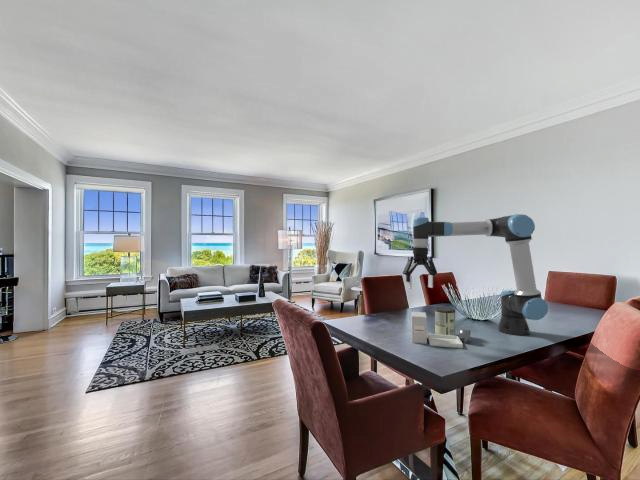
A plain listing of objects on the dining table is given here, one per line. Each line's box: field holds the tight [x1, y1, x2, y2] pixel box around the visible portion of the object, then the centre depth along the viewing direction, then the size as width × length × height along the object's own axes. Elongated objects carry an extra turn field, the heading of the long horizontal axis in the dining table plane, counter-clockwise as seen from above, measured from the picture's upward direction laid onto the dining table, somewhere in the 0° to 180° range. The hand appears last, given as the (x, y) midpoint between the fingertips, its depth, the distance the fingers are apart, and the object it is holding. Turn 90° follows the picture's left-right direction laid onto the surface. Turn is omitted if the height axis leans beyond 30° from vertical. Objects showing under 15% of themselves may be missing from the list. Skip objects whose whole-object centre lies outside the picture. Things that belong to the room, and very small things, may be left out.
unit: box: [410, 311, 428, 345], centre depth 160 cm, size 7×12×13 cm, turn 165°
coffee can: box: [434, 306, 456, 336], centre depth 169 cm, size 10×10×14 cm
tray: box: [427, 333, 464, 349], centre depth 156 cm, size 15×15×2 cm
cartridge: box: [458, 328, 471, 345], centre depth 156 cm, size 5×5×6 cm
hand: (420, 288), depth 163 cm, fingers open, 13 cm apart
